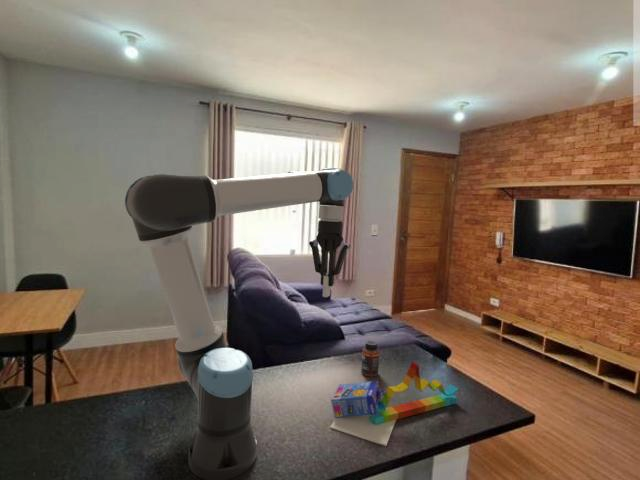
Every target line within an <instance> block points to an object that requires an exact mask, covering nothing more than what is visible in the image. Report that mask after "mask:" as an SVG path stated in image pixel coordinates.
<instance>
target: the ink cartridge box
mask: <svg viewBox="0 0 640 480" xmlns="http://www.w3.org/2000/svg"><path fill="white" fill-rule="evenodd" d="M385 392H386V387H384V388H383V389H381V390H380V384H379V381H378V380H371V381H364V382H363V381H361V382H352V383H351V382H350V383H343V384H338V386H337V388H336V389H335V391H334V392H333V395H332V396H331V399H330V402H331V408H332V412H333V417H334V419H336V418H342V417H353V416H365V415H377V413H378V411H377V408H378V406H379V403H380V401H381V400H382V398H383V396H384V394H385Z"/></svg>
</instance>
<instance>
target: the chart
mask: <svg viewBox="0 0 640 480" xmlns="http://www.w3.org/2000/svg"><path fill="white" fill-rule="evenodd" d="M413 380H414V388H416V389H417V390H418V391H420V392H421V393H422V392H423V391H424V390H425V389H426V388H427V387H428V388H430V389H431V390H432V391H434V392H435V391H436V390H437V389H438V392H440V393H441V394H437V395H433V396H430V397H425V398H422V399H418V400H414V401H409V402H405V403H401V404H397V405H396V404H395V405H393V406H389V407H388V405H389V404H390V401H391V399H393V396H394V394H396V393H397V394H398V393H399V394H400V393H403V392H405V391H406V390H408V389H409V388H410V386H411V384H412V381H413ZM458 390H459V388H458V387H456V386H455V385H453V384H450V385H449V386H448V387H446V389H444V387H443V383H441V382H440V381H438V380H437V379H433V380H432V381H431V382H430V381H429V380H426V379H425V378H424V377H422V378H421V375H420V367H419V365H418V364H416V363H415V362H414V361H411V363H410V365H409V367H408V370H407V372H406V374H405V377H404V378H403V381H402V382H400V383H399V384H397V385H394V386H393V385H392V386H391V385H390V386H387V388H386V389H385V393H384V395H383V396H382V397H381V401H380V403H379V406H378V408H377V411H378V413H377V415H370V416H369V419H370V420H371V421H372V422H373V423H374V424H375V425H377V424H381V423H385V422H388V421H392V420H396V421H397V420H399V419H403V418H407V417H410V416H414V415H418V414H422V413H425V412H429V411H432V410H436V409H441V408H443V407H444V408H445V407H448V406H451V405H456V404H457V400H458V397H457V396H456V395H454V394H456V392H458Z"/></svg>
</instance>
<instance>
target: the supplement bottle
mask: <svg viewBox="0 0 640 480" xmlns="http://www.w3.org/2000/svg"><path fill="white" fill-rule="evenodd" d="M379 363H380V349H379V348H378V342H377V341H375V340H366V341H365V346H364V347H363V348H362V357H361V372H360V373H361V374H363V376H366V377H376V376H377V375H379V367H380V366H379V365H380V364H379Z"/></svg>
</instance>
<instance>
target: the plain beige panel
mask: <svg viewBox="0 0 640 480" xmlns="http://www.w3.org/2000/svg"><path fill="white" fill-rule="evenodd" d="M369 416H370V415H365V416H353V417H342V418H334V420H333V422H332V424H330V426H329V428H330V429H333V430H334V431H339V432H341V433H345V434H347V435H350V436H354V437H357V438H359V439H363V440H366V441H368V442H369V441H370V442H372V443H375V444H378V445H381V446H384V447H387V445H388V443H389V440H390V437H391V436H392V435H391V434H392V433H393V430H394V427H395V424H396V421H397V419H396V420H392V421H388V422H385V423H381V424H377V425H375V424H374V423H373V422H372V421H371V420H370V419H369Z"/></svg>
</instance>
